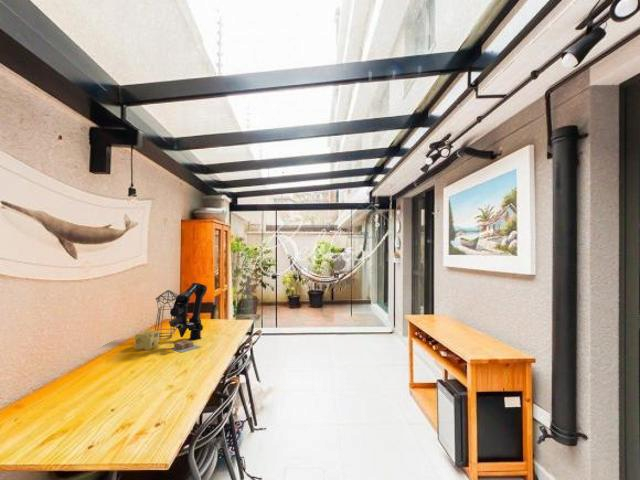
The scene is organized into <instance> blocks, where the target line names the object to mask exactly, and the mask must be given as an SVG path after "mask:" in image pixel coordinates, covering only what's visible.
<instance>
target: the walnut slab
mask: <svg viewBox="0 0 640 480" xmlns="http://www.w3.org/2000/svg"><path fill="white" fill-rule="evenodd" d="M193 345H194V341H192V340H191V341H190V340H187V339H183V340H180V341H175V342H174V344H173V348H178V349H181V350H183V349H187V348H190V347H193Z"/></svg>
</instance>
